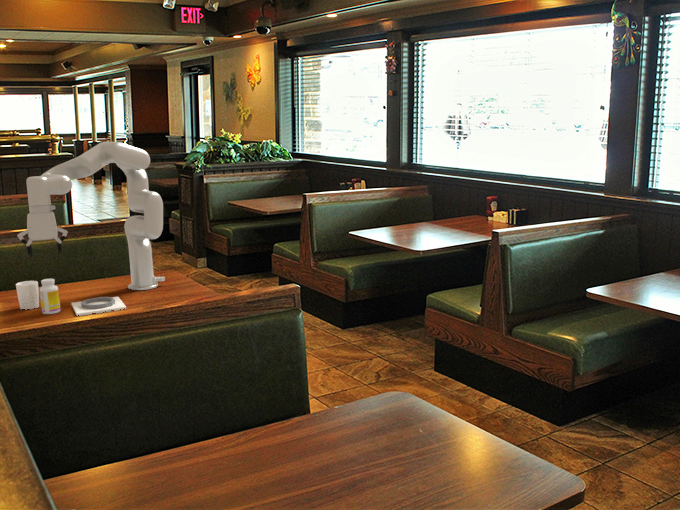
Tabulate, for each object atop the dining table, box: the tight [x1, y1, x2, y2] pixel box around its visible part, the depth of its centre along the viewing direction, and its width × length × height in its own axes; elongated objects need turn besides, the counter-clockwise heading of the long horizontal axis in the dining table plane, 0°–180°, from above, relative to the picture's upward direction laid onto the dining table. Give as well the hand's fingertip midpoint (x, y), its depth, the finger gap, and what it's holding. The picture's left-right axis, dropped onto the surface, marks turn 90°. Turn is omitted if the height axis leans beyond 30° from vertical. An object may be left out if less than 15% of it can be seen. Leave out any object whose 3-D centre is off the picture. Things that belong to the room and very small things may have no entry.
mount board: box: [71, 296, 127, 317], centre depth 261 cm, size 18×18×2 cm
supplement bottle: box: [38, 278, 62, 315], centre depth 254 cm, size 7×7×13 cm
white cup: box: [15, 280, 40, 311], centre depth 261 cm, size 8×8×10 cm
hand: (45, 254), depth 251 cm, fingers open, 9 cm apart
